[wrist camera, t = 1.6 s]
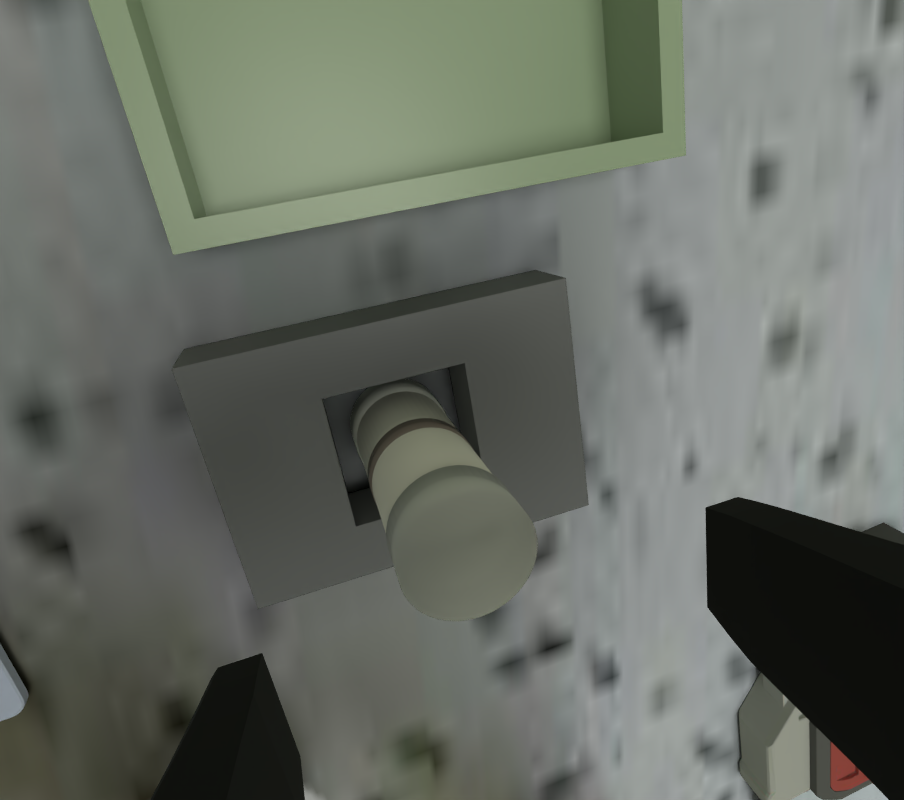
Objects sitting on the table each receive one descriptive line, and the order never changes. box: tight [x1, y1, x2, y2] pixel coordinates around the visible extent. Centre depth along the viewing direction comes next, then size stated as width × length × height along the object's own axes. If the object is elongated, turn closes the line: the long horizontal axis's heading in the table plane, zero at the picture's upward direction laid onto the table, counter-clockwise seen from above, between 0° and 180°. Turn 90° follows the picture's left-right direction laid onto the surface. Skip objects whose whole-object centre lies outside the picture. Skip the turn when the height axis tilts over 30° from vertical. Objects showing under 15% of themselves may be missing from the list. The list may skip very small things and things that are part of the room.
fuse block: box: [172, 270, 589, 609], centre depth 17 cm, size 10×7×2 cm
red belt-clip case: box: [739, 523, 904, 800], centre depth 26 cm, size 9×4×20 cm
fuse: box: [350, 378, 538, 621], centre depth 14 cm, size 3×3×8 cm
